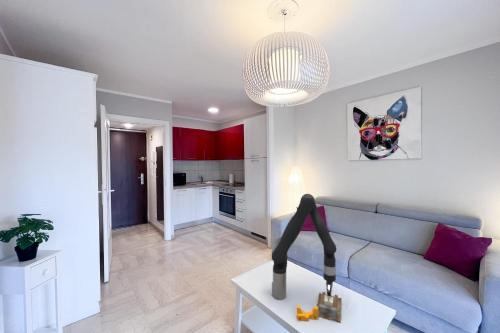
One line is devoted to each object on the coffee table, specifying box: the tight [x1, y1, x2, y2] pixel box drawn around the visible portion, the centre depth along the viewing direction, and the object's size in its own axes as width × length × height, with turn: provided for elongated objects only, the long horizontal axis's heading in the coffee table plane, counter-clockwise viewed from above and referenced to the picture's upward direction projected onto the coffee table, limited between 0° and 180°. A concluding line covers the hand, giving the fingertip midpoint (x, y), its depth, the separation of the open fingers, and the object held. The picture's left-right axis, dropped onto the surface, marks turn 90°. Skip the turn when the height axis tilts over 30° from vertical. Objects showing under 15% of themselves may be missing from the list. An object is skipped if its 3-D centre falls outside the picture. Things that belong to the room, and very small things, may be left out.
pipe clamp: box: [296, 304, 319, 322], centre depth 125 cm, size 12×4×6 cm, turn 86°
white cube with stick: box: [324, 294, 333, 307], centre depth 131 cm, size 5×6×8 cm
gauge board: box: [316, 291, 342, 324], centre depth 134 cm, size 14×22×6 cm, turn 156°
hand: (329, 298), depth 136 cm, fingers closed
